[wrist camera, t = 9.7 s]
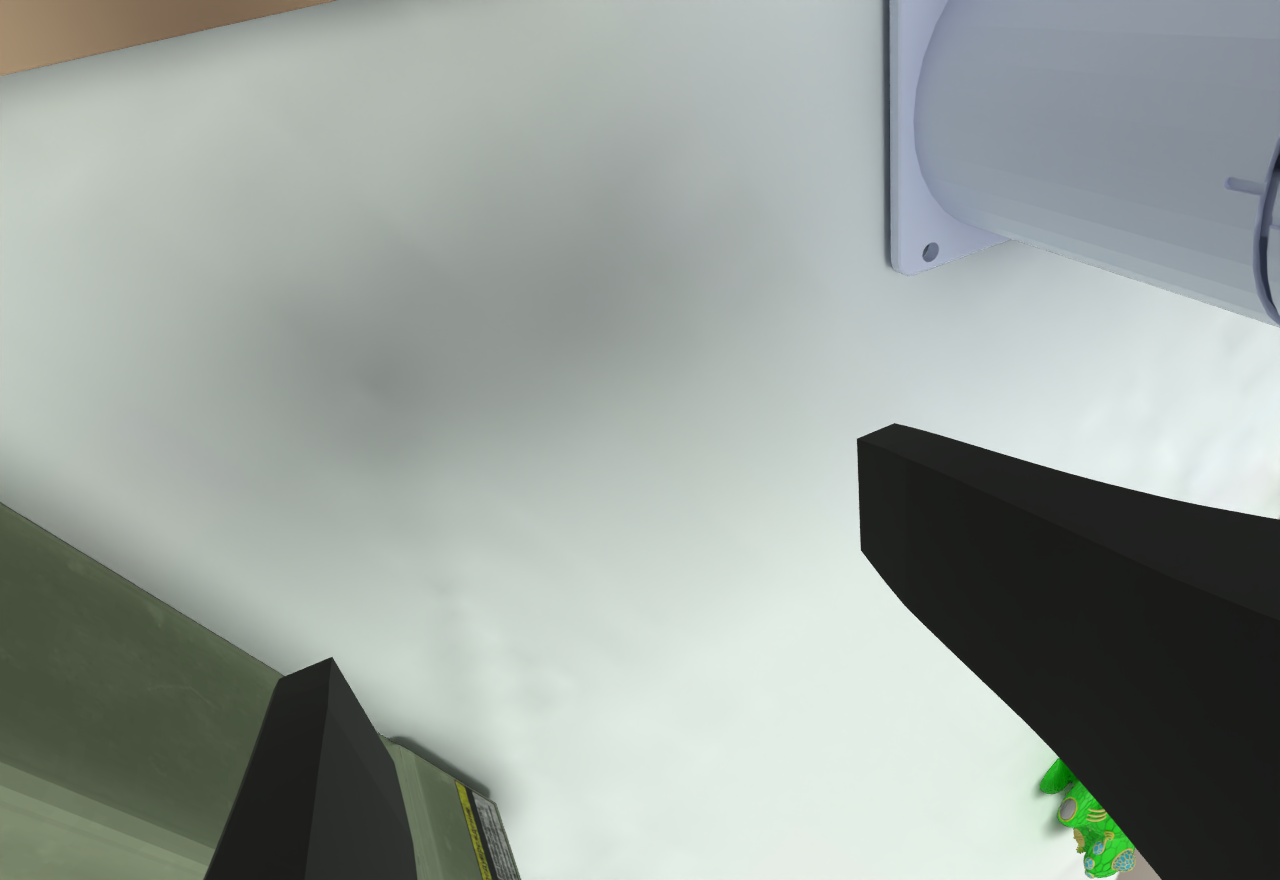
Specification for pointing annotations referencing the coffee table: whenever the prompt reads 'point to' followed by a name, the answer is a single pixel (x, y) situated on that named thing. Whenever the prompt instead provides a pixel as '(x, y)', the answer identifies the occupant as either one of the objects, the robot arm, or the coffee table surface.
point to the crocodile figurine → (1090, 825)
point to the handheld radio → (155, 734)
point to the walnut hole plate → (112, 25)
